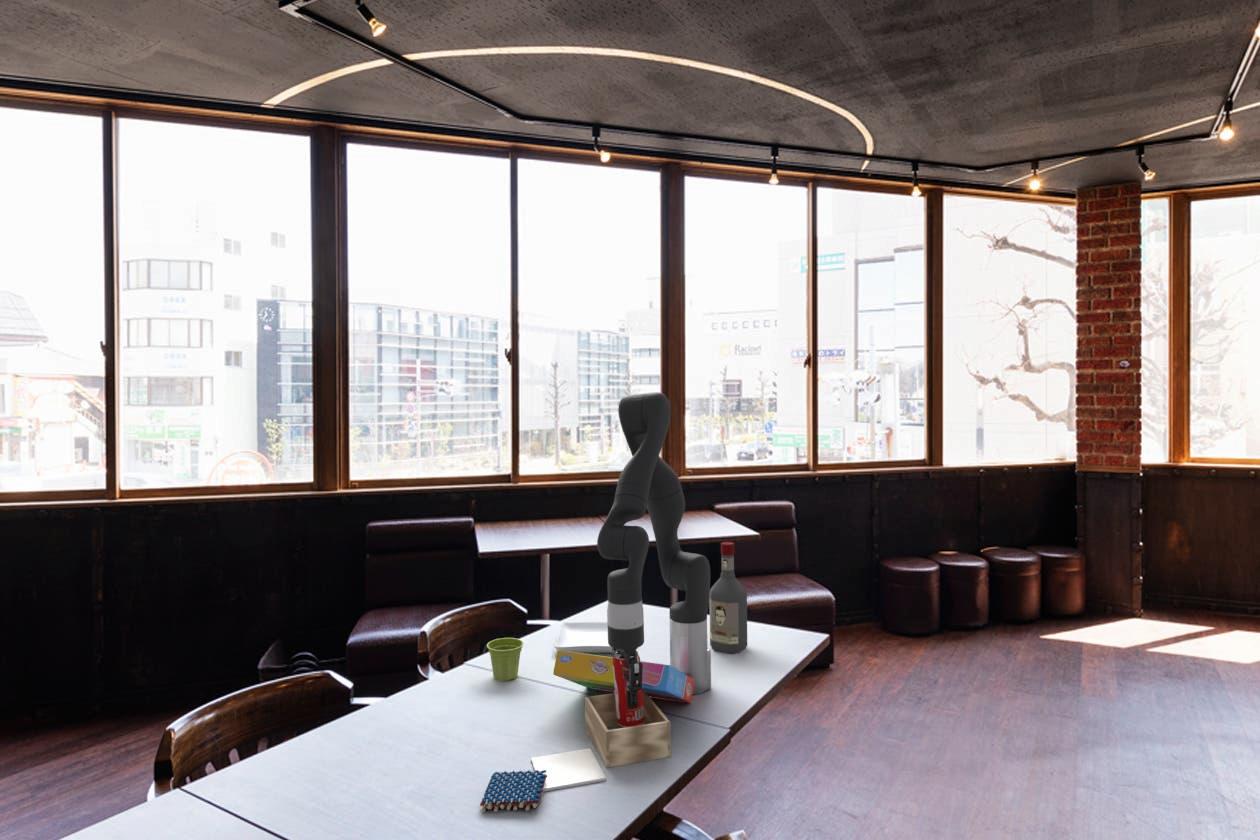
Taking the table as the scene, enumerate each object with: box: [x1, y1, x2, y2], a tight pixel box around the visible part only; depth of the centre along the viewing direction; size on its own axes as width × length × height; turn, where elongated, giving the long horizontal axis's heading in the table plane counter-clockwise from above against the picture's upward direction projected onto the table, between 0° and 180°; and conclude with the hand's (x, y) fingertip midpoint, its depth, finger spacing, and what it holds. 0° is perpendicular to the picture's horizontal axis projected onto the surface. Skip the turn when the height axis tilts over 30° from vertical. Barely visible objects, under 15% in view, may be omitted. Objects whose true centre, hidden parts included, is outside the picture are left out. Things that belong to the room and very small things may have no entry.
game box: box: [553, 650, 694, 704], centre depth 165 cm, size 21×6×27 cm
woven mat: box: [479, 769, 547, 814], centre depth 129 cm, size 10×11×2 cm
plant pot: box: [486, 637, 524, 682], centre depth 185 cm, size 9×9×9 cm
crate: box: [584, 689, 671, 769], centre depth 149 cm, size 13×17×7 cm
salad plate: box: [553, 621, 612, 654], centre depth 210 cm, size 21×21×3 cm
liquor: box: [709, 541, 748, 655], centre depth 204 cm, size 9×9×30 cm
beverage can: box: [613, 650, 645, 728], centre depth 149 cm, size 6×6×15 cm
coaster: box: [530, 748, 607, 793], centre depth 138 cm, size 12×12×1 cm
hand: (627, 701), depth 149 cm, fingers closed on beverage can, 5 cm apart
